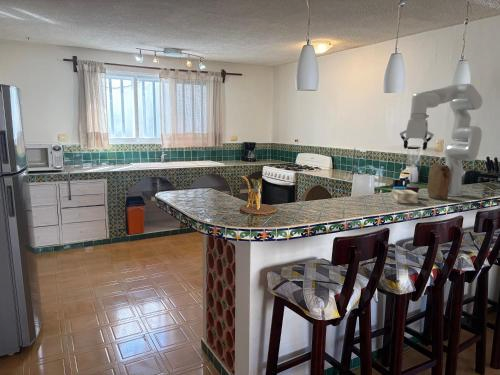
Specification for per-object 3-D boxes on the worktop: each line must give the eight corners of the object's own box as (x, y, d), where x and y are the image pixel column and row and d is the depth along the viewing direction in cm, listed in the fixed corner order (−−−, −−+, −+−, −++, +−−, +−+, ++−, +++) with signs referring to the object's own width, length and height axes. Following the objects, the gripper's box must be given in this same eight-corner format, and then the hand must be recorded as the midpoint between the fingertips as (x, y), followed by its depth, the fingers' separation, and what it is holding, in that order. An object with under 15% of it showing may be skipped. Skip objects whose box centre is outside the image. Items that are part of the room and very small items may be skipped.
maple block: (410, 200, 211) (411, 190, 210) (417, 204, 201) (418, 193, 199) (390, 199, 212) (391, 189, 211) (397, 203, 201) (398, 193, 200)
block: (425, 196, 220) (428, 163, 216) (434, 196, 222) (438, 163, 219) (440, 200, 210) (444, 166, 206) (449, 200, 212) (454, 165, 209)
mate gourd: (414, 196, 221) (416, 171, 219) (420, 199, 214) (423, 173, 211) (402, 196, 221) (404, 171, 218) (408, 198, 213) (410, 173, 211)
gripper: (437, 117, 193) (433, 149, 196) (404, 116, 204) (401, 147, 207) (433, 117, 187) (429, 150, 191) (399, 116, 199) (396, 148, 202)
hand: (414, 149), depth 199 cm, fingers open, 9 cm apart
